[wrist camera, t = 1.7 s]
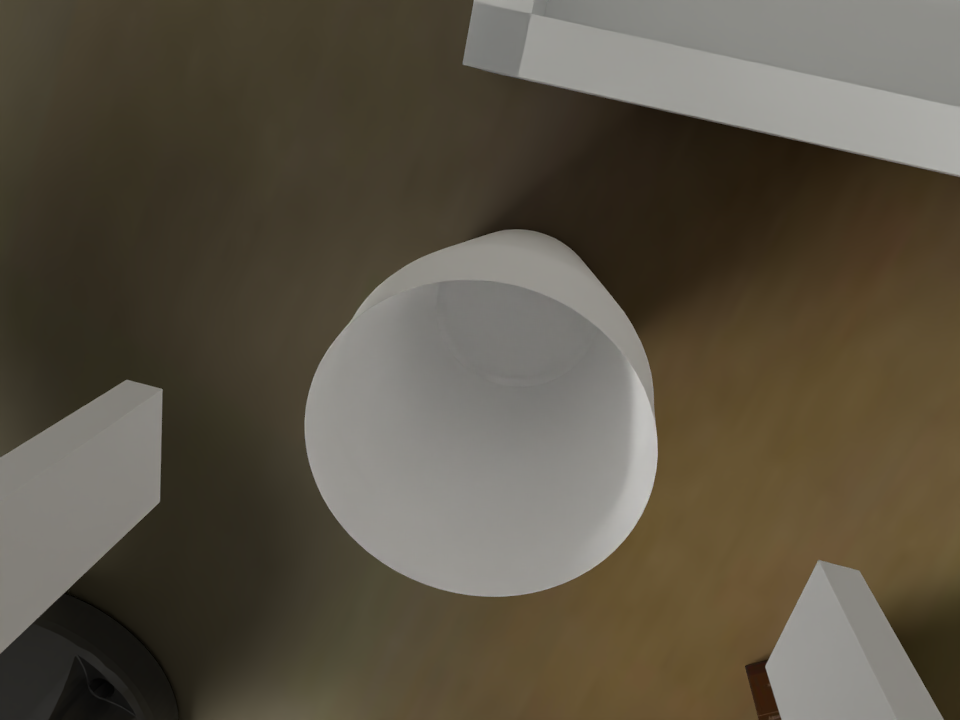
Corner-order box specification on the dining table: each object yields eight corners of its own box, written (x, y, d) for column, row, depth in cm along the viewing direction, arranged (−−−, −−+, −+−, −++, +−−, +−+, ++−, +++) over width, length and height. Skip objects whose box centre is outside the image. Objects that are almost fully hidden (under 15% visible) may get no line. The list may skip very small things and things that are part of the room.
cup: (365, 299, 28) (226, 429, 17) (526, 146, 25) (483, 184, 14) (510, 448, 30) (468, 654, 19) (677, 321, 27) (746, 479, 16)
